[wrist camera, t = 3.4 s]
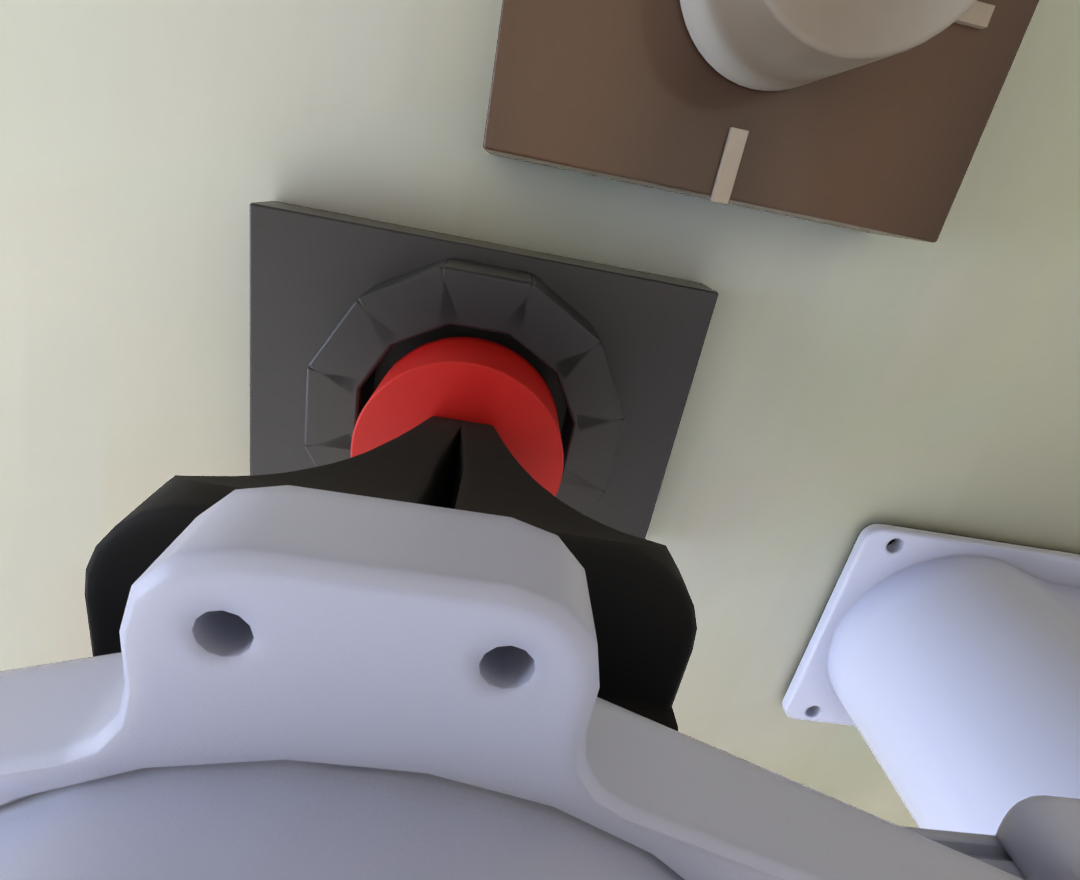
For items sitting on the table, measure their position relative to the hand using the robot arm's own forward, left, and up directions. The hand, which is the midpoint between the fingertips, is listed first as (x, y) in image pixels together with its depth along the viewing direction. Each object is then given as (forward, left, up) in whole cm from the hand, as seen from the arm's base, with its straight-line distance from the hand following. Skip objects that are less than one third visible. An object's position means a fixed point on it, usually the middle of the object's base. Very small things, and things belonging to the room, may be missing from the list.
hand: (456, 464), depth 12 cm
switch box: (0, 0, -5) cm, 5 cm away
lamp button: (0, 0, -2) cm, 2 cm away
